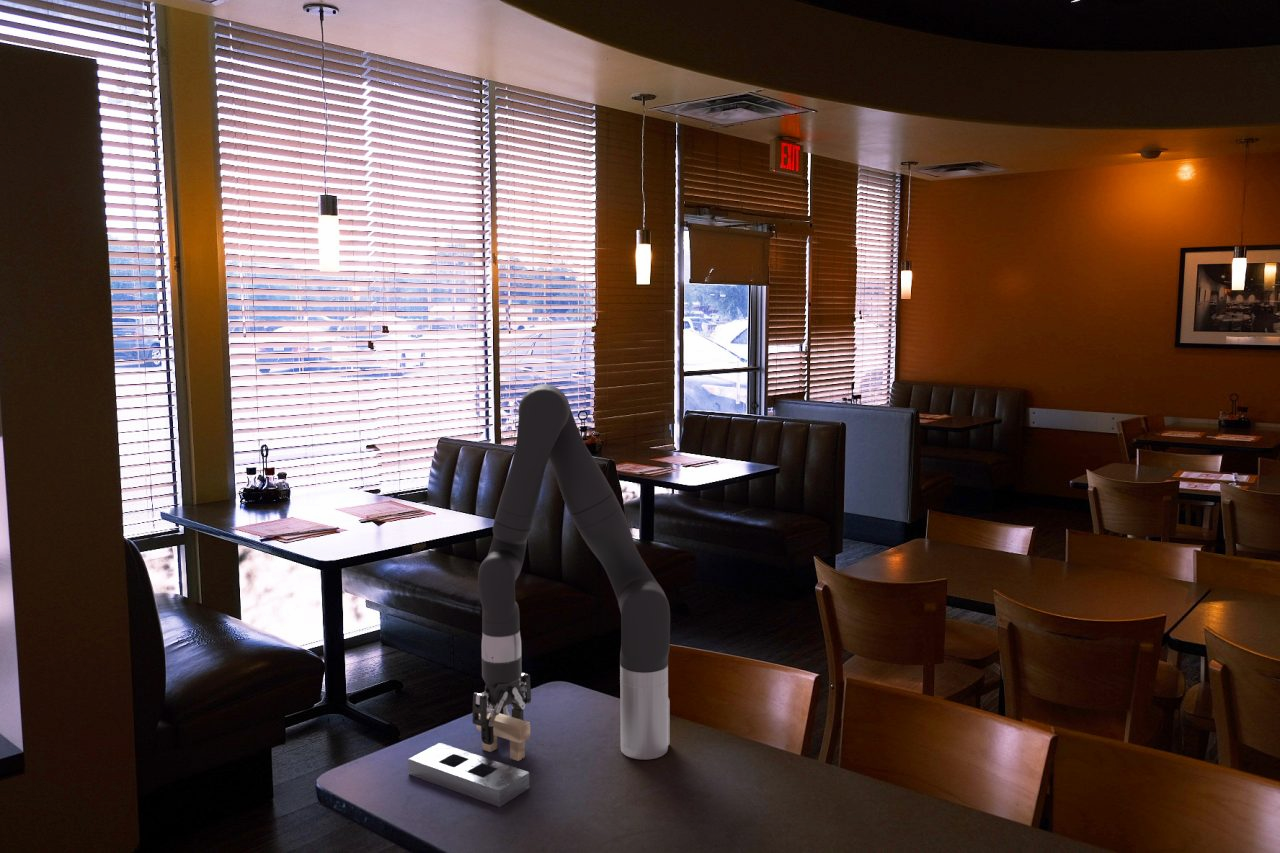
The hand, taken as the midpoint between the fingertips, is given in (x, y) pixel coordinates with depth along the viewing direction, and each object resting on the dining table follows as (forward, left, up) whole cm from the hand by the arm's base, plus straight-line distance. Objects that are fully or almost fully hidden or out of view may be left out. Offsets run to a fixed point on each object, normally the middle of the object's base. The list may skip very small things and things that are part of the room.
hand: (503, 735), depth 186 cm
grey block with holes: (+12, +2, -4) cm, 13 cm away
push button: (-8, -9, -4) cm, 13 cm away
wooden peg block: (0, 0, -4) cm, 4 cm away
